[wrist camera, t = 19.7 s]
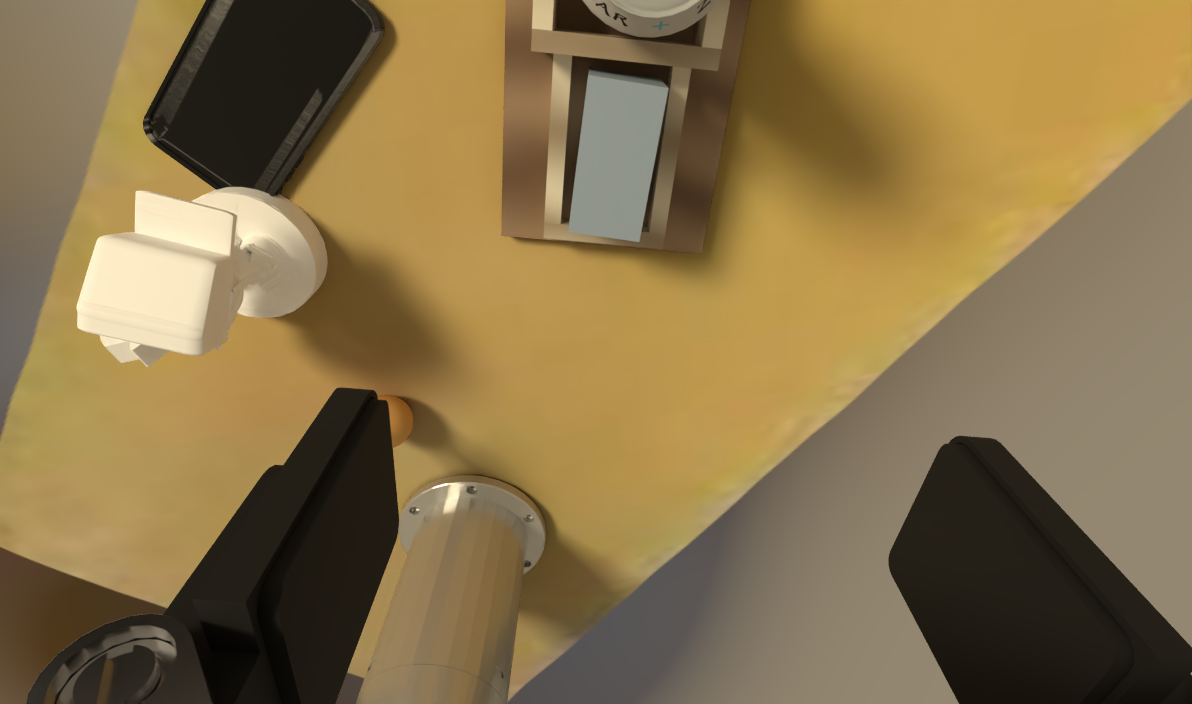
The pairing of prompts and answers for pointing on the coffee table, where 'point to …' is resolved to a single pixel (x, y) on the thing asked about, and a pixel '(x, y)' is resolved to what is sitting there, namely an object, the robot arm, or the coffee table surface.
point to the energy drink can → (650, 15)
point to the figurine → (398, 419)
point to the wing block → (616, 153)
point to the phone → (259, 86)
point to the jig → (556, 102)
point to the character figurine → (198, 271)
